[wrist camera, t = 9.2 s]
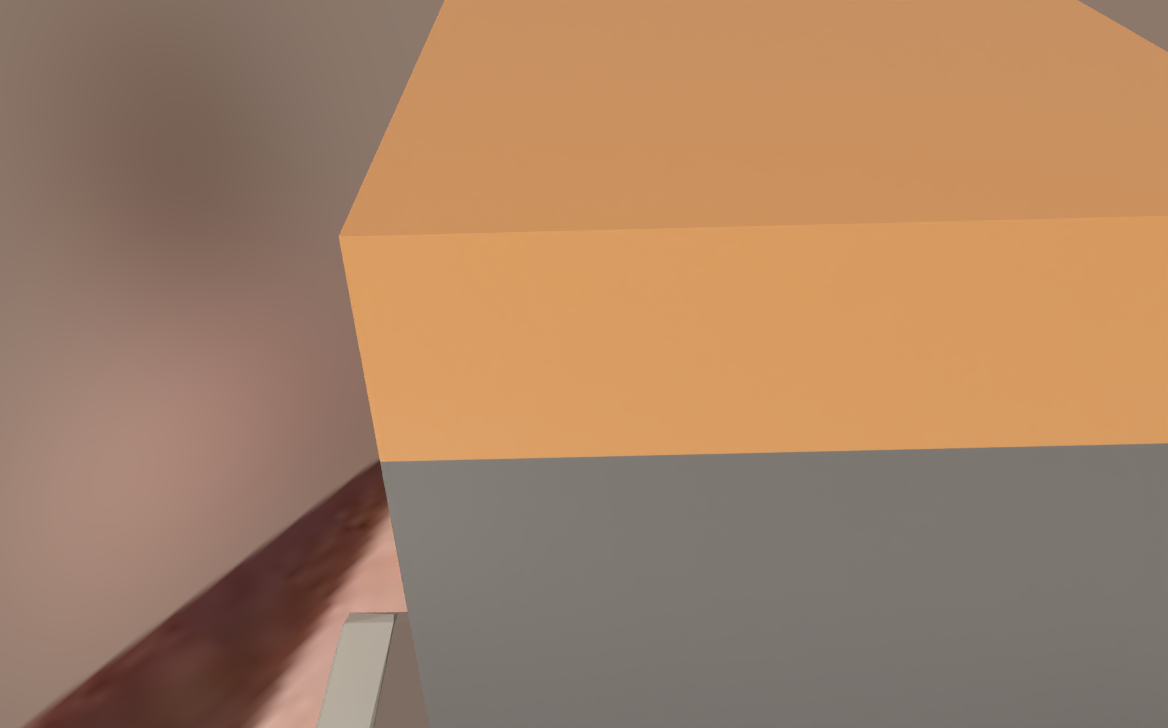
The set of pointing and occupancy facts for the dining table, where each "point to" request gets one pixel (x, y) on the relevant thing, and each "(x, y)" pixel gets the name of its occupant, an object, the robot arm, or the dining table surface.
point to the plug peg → (775, 363)
